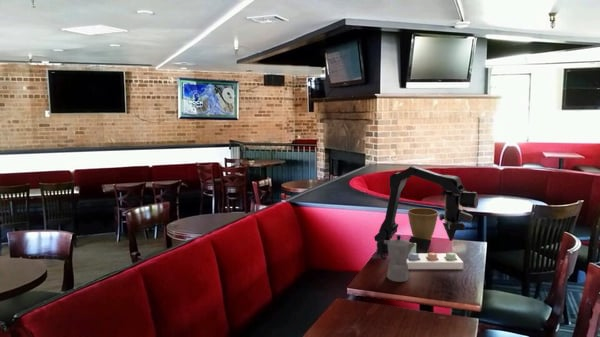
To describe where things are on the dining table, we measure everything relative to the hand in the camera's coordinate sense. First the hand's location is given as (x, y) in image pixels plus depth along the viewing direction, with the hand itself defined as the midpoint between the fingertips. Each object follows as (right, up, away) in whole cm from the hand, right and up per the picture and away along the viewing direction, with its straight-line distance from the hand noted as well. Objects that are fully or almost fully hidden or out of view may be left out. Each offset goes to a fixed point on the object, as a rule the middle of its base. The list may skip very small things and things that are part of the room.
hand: (451, 240), depth 203 cm
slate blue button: (-16, -10, +2) cm, 19 cm away
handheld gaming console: (-10, -9, +22) cm, 26 cm away
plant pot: (-3, -6, +36) cm, 37 cm away
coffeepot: (-27, -14, -12) cm, 32 cm away
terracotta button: (-8, -10, +2) cm, 13 cm away
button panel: (-8, -11, +3) cm, 14 cm away
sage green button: (0, -10, +1) cm, 10 cm away
